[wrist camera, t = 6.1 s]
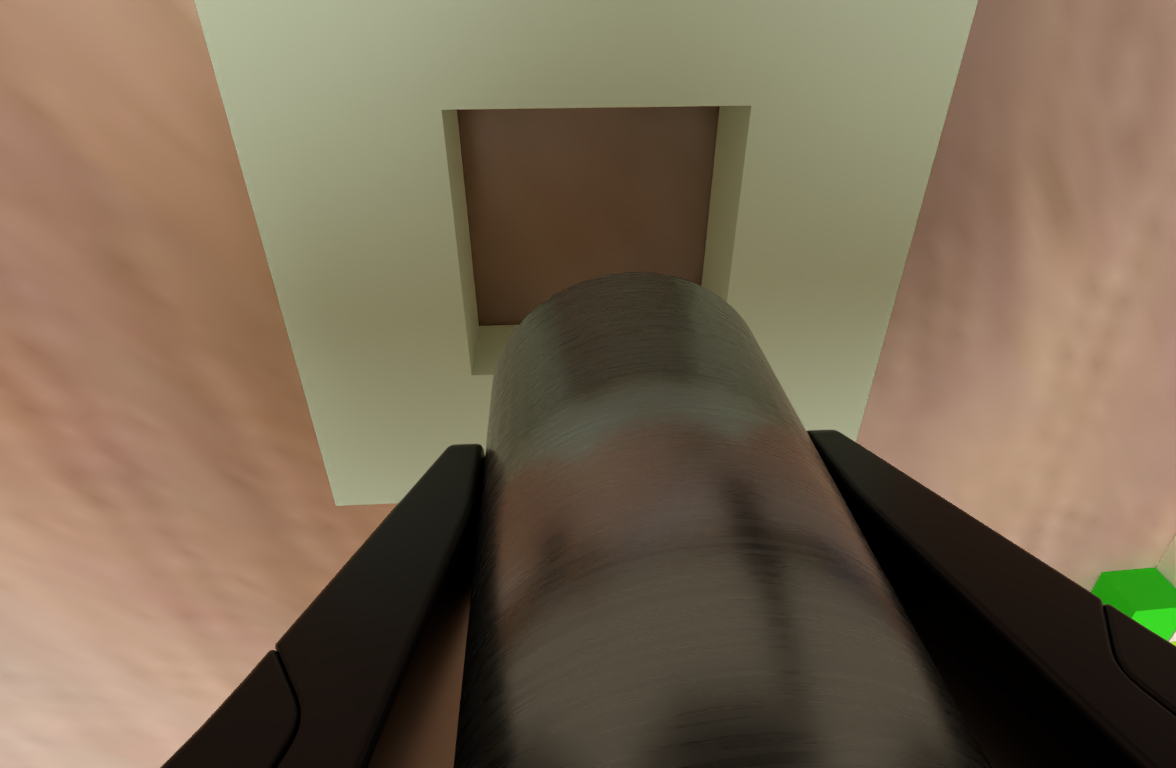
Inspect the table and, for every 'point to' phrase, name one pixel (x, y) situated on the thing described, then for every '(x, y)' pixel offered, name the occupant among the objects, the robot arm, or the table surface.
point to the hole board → (570, 80)
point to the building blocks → (1145, 594)
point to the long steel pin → (677, 561)
